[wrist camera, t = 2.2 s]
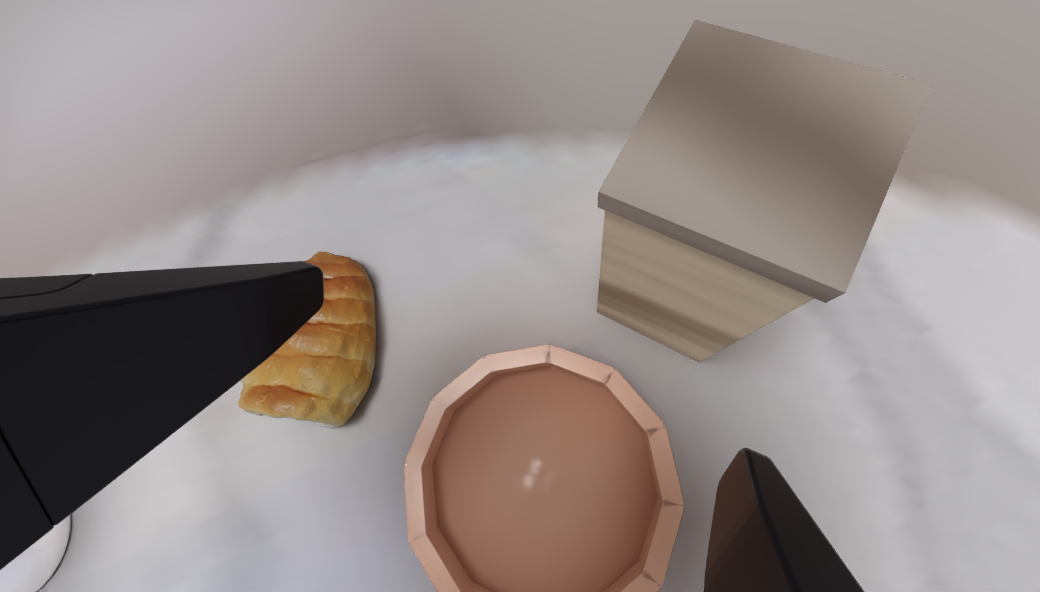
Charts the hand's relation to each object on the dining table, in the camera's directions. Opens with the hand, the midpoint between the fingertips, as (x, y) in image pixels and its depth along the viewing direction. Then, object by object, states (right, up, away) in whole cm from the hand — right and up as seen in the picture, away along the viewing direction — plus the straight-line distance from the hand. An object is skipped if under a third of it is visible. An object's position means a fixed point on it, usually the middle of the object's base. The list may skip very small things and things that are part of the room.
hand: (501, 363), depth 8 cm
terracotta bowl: (+1, -7, +12) cm, 14 cm away
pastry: (-11, -2, +16) cm, 19 cm away
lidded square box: (+8, +2, +14) cm, 16 cm away
